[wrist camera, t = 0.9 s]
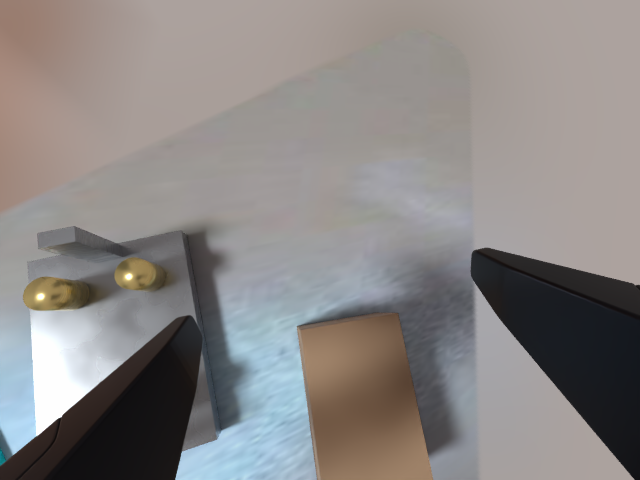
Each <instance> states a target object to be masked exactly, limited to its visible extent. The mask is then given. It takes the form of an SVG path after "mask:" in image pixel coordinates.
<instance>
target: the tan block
mask: <svg viewBox="0 0 640 480" xmlns="http://www.w3.org/2000/svg"><path fill="white" fill-rule="evenodd" d="M297 331H298V339H299V346H300V354H301V361H302V369H303V377H304V384H305V392H306V399H307V407H308V414H309V422H310V429H311V437H312V444H313V452H314V460H315V467H316V475H317V480H433V477H432V472H431V467H430V462H429V458H428V453H427V448H426V443H425V439H424V434H423V429H422V424H421V420H420V415H419V410H418V405H417V401H416V396H415V391H414V386H413V382H412V377H411V372H410V367H409V363H408V358H407V353H406V348H405V344H404V339H403V334H402V329H401V325H400V320H399V315H398V313H379V312H377V313H372V314H366V315H360V316H354V317H348V318H342V319H337V320H331V321H325V322H319V323H313V324H308V325H302V326H297Z"/></svg>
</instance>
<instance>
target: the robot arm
mask: <svg viewBox="0 0 640 480" xmlns="http://www.w3.org/2000/svg"><path fill="white" fill-rule="evenodd" d="M471 276H472V279H473V281H474V282H475V284H476V285H477V286H478V288H479V289H480V291H481V292H482V294H483V295H484V297H485V298H486V300H487V301H488V303H489V304H490V306H491V307H492V309H493V310H494V312H495V313H496V314H497V316H498V317H499V319H500V320H501V321H502V322H503V324H504V325H505V326H506V327H507V328H508V330H509V331H510V332H511V333H512V334H513V335H514V337H515V338H516V339H517V340H518V341H519V343H520V344H521V345H522V346H523V347H524V349H525V350H526V351H527V352H528V353H529V355H530V356H531V357H532V358H533V359H534V361H535V362H536V363H537V364H538V365H539V366H540V368H541V369H542V370H543V371H544V372H545V374H546V375H547V376H548V377H549V378H550V380H551V381H552V382H553V383H554V384H555V385H556V387H557V388H558V389H559V390H560V391H561V393H562V394H563V395H564V396H565V397H566V399H567V400H568V401H569V402H570V403H571V405H572V406H573V407H574V408H575V409H576V411H577V412H578V413H579V414H580V415H581V416H582V418H583V419H584V420H585V421H586V422H587V424H588V425H589V426H590V427H591V428H592V430H593V431H594V432H595V433H596V434H597V436H598V437H599V438H600V439H601V440H602V441H603V443H604V444H605V445H606V446H607V447H608V448H609V450H610V451H611V452H612V453H613V455H614V456H615V457H616V458H617V459H618V460H619V462H620V463H621V464H622V465H623V466H624V468H625V469H626V470H627V471H628V472H629V473H630V475H631V476H632V477H633V478H634V479H635V480H640V285H636V286H635V285H634V284H632V283H629V282H625V281H620V280H616V279H612V278H608V277H604V276H600V275H596V274H592V273H588V272H584V271H579V270H576V269H572V268H568V267H563V266H559V265H555V264H551V263H547V262H543V261H539V260H535V259H531V258H527V257H523V256H519V255H515V254H511V253H506V252H503V251H499V250H495V249H491V248H482V249H478V250H474V251H473V253H472V258H471ZM202 344H203V336H202V333H201V331H200V329H199V327H198V325H197V323H196V321H195V319H194V318H193V316H191V315H186V316H181V317H177V318H176V319H175V320H173V321H172V322H171V323H170V324H169V325H167V326H166V327H165V328H164V329H163V330H162V331H160V332H159V333H158V334H157V335H156V336H154V337H153V338H152V339H151V340H150V341H149V342H147V343H146V344H145V345H144V346H143V347H141V348H140V349H139V350H138V351H137V352H136V353H134V354H133V355H132V356H131V357H130V358H128V359H127V360H126V361H125V362H124V363H123V364H121V365H120V366H119V367H118V368H117V369H115V370H114V371H113V372H112V373H111V374H110V375H108V376H107V377H106V378H105V379H104V380H102V381H101V382H100V383H99V384H98V385H97V386H95V387H94V388H93V389H92V390H91V391H89V392H88V393H87V394H86V395H85V396H84V397H82V398H81V399H80V400H79V401H78V402H77V403H75V404H74V405H73V406H72V407H71V408H69V409H68V410H67V411H66V412H65V413H64V414H62V417H59V418H57V419H56V420H55V421H54V422H53V423H52V424H50V425H49V426H48V427H47V428H46V429H45V430H43V431H42V432H41V433H40V434H39V435H37V436H36V437H35V438H34V439H33V440H31V441H30V442H29V443H28V444H26V445H25V446H24V447H23V448H22V449H20V450H19V451H18V452H17V453H16V454H14V455H13V456H12V457H11V458H9V459H8V460H7V461H6V462H4V463H3V464H2V465H1V466H0V480H175V478H176V474H177V470H178V465H179V461H180V457H181V453H182V449H183V444H184V440H185V436H186V432H187V428H188V423H189V419H190V415H191V411H192V407H193V402H194V398H195V394H196V389H197V383H198V376H199V368H200V360H201V352H202Z"/></svg>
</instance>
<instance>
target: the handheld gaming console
mask: <svg viewBox="0 0 640 480" xmlns="http://www.w3.org/2000/svg"><path fill="white" fill-rule="evenodd" d="M4 462H6V459H5V457H4V455H3V453H2V451H1V449H0V466H1V465H2V464H3V463H4Z"/></svg>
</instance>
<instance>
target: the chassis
mask: <svg viewBox="0 0 640 480" xmlns="http://www.w3.org/2000/svg"><path fill="white" fill-rule="evenodd" d="M37 237H38V249H41V250H45V251H49V252H53V253H57V254H61V255H59V256H54V257H49V258H45V259H40V260H35V261H30V262H28V280H29V284H28V286H27V287H26V289H25V291H24V294H23V300H24V303H25V305H26V306H27V307H28V308H30V317H31V335H32V354H33V372H34V390H35V409H36V427H37V435H39V434H40V433H41V432H42V431H43V430H45V429H46V428H47V427H48V426H49V425H50V424H52V423H53V422H54V421H55V420H56V419H57V418H59V417H62V414H64V413H65V412H66V411H67V410H68V409H69V408H71V407H72V406H73V405H74V404H75V403H77V402H78V401H79V400H80V399H81V398H82V397H84V396H85V395H86V394H87V393H88V392H89V391H91V390H92V389H93V388H94V387H95V386H97V385H98V384H99V383H100V382H101V381H102V380H104V379H105V378H106V377H107V376H108V375H110V374H111V373H112V372H113V371H114V370H115V369H117V368H118V367H119V366H120V365H121V364H123V363H124V362H125V361H126V360H127V359H128V358H130V357H131V356H132V355H133V354H134V353H136V352H137V351H138V350H139V349H140V348H141V347H143V346H144V345H145V344H146V343H147V342H149V341H150V340H151V339H152V338H153V337H154V336H156V335H157V334H158V333H159V332H160V331H162V330H163V329H164V328H165V327H166V326H167V325H169V324H170V323H171V322H172V321H173V320H175V319H176V318H177V317H181V316H186V315H191V316H193V318H194V319H195V321H196V323H197V325H198V327H199V329H200V331H201V333H202V336H203V344H202V352H201V360H200V368H199V376H198V383H197V389H196V394H195V398H194V402H193V407H192V411H191V415H190V419H189V423H188V428H187V432H186V436H185V440H184V444H183V449H182V451H185V450H188V449H191V448H194V447H196V446H199V445H202V444H205V443H208V442H211V441H214V440H217V438H218V436H219V434H220V432H221V427H220V421H219V415H218V410H217V404H216V398H215V393H214V387H213V381H212V376H211V370H210V364H209V358H208V353H207V347H206V341H205V336H204V330H203V324H202V319H201V313H200V307H199V301H198V296H197V290H196V284H195V279H194V273H193V267H192V262H191V256H190V250H189V244H188V239H187V235H186V234H185V233H184V232H183V231H176V232H171V233H166V234H161V235H156V236H152V237H147V238H142V239H137V240H132V241H127V242H122V243H118V244H117V243H114V242H112V241H109V240H107V239H104V238H102V237H99V236H97V235H95V234H92V233H90V232H87V231H85V230H82V229H80V228H77V227H75V226H72V227H67V228H62V229H56V230H51V231H46V232H41V233H37Z"/></svg>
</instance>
